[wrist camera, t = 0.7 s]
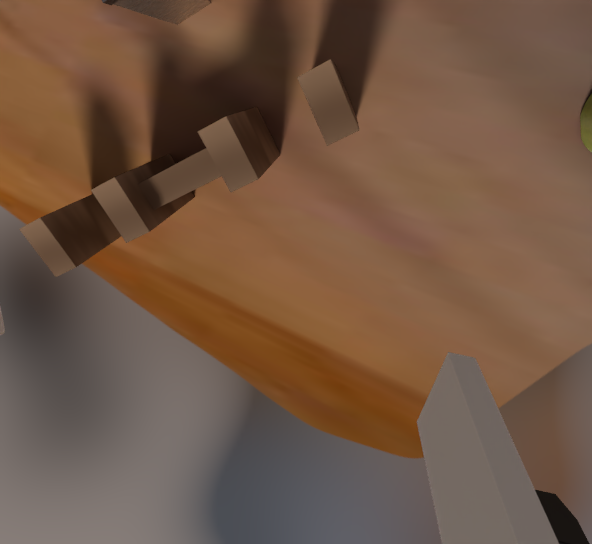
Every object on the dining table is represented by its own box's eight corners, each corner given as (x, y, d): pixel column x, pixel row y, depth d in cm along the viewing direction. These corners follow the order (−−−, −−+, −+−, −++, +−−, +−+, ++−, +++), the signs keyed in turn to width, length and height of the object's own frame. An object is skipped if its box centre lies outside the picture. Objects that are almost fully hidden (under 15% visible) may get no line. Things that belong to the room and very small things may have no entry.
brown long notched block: (91, 195, 37) (19, 229, 29) (335, 64, 30) (330, 59, 22) (118, 234, 38) (55, 276, 30) (356, 117, 31) (359, 130, 23)
